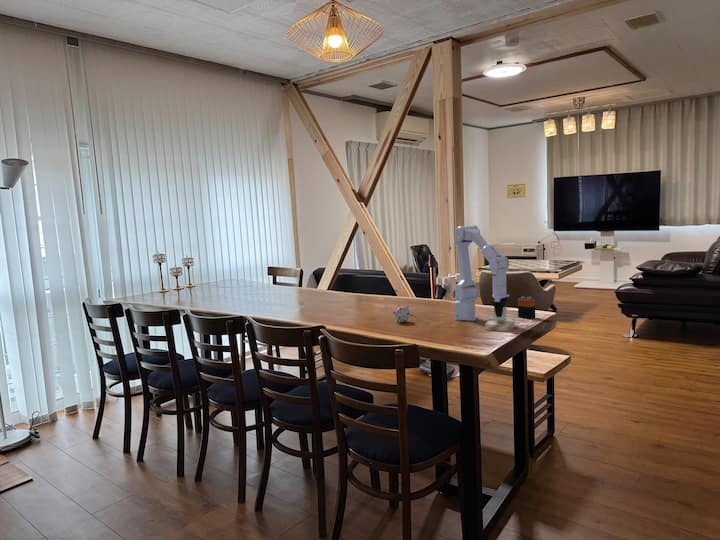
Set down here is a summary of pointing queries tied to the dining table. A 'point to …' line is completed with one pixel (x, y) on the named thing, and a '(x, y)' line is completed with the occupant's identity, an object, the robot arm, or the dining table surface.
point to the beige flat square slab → (500, 325)
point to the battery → (526, 307)
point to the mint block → (502, 315)
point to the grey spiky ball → (402, 314)
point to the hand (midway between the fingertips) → (499, 315)
